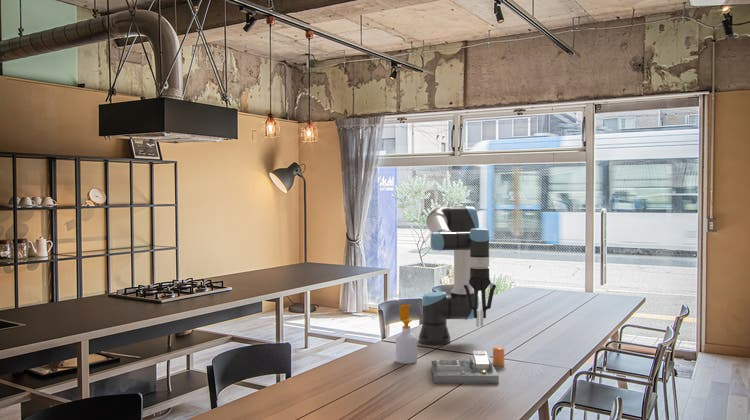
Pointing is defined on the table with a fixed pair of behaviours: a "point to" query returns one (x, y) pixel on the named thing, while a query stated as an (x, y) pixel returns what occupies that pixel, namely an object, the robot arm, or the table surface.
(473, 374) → the breaker panel
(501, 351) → the cap
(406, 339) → the soap bottle
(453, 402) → the table surface
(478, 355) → the block
